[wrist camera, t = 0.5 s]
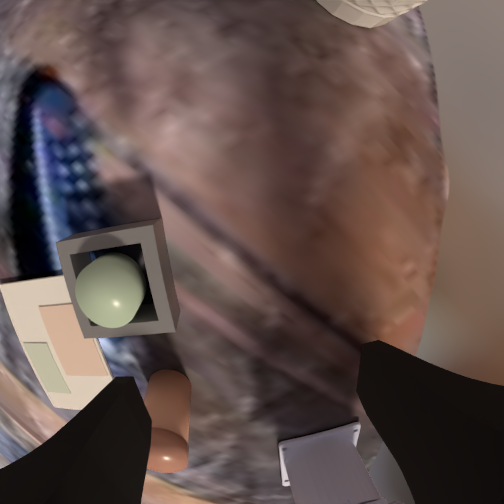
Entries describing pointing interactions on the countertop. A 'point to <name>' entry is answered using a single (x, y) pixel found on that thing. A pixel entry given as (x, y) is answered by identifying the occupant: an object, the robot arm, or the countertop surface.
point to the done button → (111, 289)
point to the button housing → (157, 266)
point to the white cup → (368, 10)
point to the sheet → (56, 341)
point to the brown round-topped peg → (168, 420)
